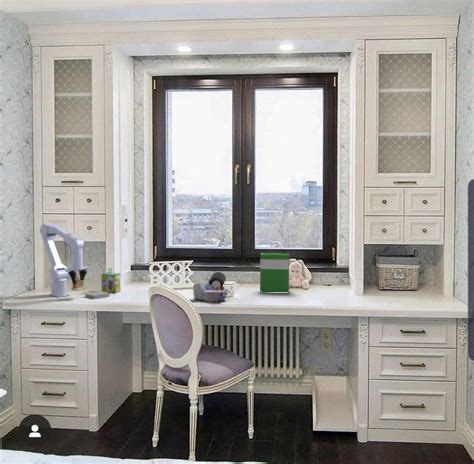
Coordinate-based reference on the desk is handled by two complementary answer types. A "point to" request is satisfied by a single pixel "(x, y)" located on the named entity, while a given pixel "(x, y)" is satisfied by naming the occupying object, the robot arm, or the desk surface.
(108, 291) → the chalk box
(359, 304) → the desk surface
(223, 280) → the portable speaker
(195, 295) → the cell model
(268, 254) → the hardback book
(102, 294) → the dock
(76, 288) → the tan cardboard carton
